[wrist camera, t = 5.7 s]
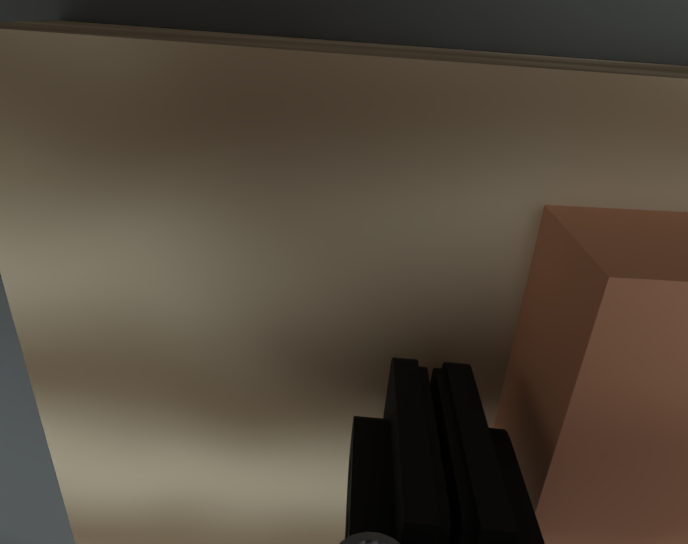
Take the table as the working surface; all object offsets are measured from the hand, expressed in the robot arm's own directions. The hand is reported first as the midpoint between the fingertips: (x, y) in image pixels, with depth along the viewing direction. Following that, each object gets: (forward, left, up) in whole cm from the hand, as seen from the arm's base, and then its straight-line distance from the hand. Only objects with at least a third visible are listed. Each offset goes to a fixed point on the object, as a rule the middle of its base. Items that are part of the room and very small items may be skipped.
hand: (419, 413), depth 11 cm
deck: (0, +1, -5) cm, 5 cm away
